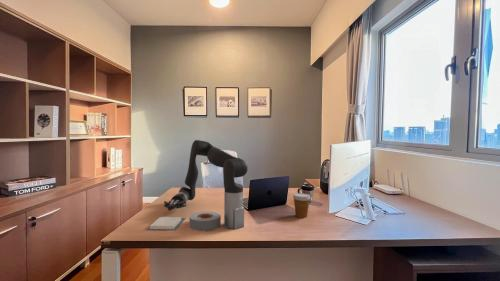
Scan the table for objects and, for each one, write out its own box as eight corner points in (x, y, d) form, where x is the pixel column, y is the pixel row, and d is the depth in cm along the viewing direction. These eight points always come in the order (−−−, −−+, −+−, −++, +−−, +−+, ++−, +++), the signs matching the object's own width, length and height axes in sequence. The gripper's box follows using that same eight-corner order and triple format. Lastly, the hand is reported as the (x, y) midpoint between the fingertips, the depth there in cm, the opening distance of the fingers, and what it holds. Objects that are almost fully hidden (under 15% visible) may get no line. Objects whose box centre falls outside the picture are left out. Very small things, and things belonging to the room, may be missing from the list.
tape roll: (187, 222, 133) (187, 212, 133) (216, 219, 139) (216, 209, 139) (191, 233, 119) (191, 222, 119) (224, 229, 125) (224, 218, 124)
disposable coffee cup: (290, 217, 143) (290, 195, 143) (295, 212, 152) (296, 192, 151) (307, 219, 139) (307, 197, 138) (311, 215, 147) (312, 194, 147)
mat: (186, 218, 139) (186, 217, 139) (176, 231, 121) (176, 230, 121) (160, 218, 139) (160, 217, 139) (146, 230, 121) (146, 229, 121)
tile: (181, 217, 134) (173, 226, 121) (181, 220, 135) (173, 229, 122) (160, 216, 135) (150, 225, 122) (160, 220, 135) (150, 229, 122)
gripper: (168, 193, 151) (157, 200, 133) (190, 193, 150) (182, 201, 133) (168, 206, 151) (157, 215, 133) (190, 206, 150) (182, 215, 133)
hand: (169, 208), depth 133 cm, fingers closed
